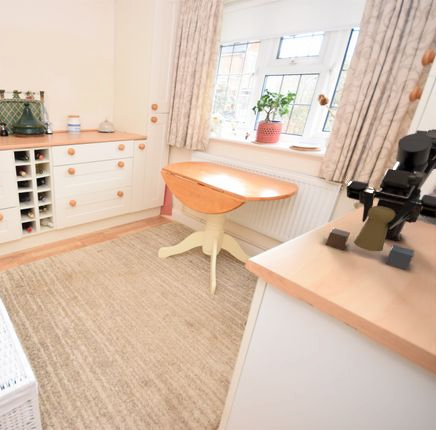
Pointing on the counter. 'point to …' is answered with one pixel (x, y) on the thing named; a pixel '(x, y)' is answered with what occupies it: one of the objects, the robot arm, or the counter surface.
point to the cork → (375, 229)
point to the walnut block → (337, 238)
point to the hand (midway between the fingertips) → (375, 224)
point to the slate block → (399, 257)
